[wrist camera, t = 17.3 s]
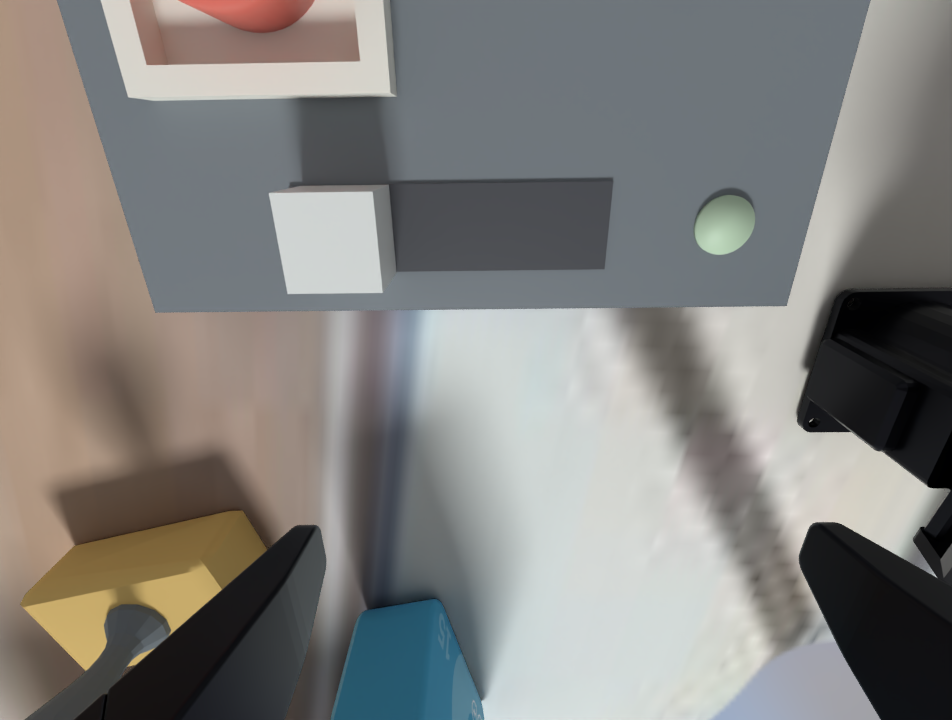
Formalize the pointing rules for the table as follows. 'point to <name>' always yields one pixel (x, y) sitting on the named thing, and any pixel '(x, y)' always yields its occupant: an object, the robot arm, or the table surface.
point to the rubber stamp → (133, 596)
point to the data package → (406, 668)
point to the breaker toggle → (335, 238)
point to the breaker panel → (476, 144)
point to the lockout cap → (254, 12)
